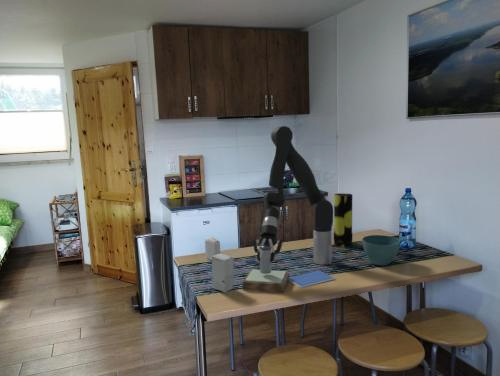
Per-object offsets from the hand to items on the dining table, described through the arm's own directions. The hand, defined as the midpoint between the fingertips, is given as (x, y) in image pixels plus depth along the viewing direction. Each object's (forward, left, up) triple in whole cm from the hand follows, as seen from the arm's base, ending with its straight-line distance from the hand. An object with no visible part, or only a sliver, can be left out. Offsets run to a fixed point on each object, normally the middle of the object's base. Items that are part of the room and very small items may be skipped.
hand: (265, 260), depth 182 cm
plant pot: (-52, -38, -11) cm, 65 cm away
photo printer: (+35, -30, -11) cm, 47 cm away
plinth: (0, -1, -11) cm, 11 cm away
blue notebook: (-19, -10, -12) cm, 25 cm away
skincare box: (+18, +7, -11) cm, 22 cm away
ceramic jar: (0, -1, -5) cm, 5 cm away
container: (-33, -68, -11) cm, 76 cm away
